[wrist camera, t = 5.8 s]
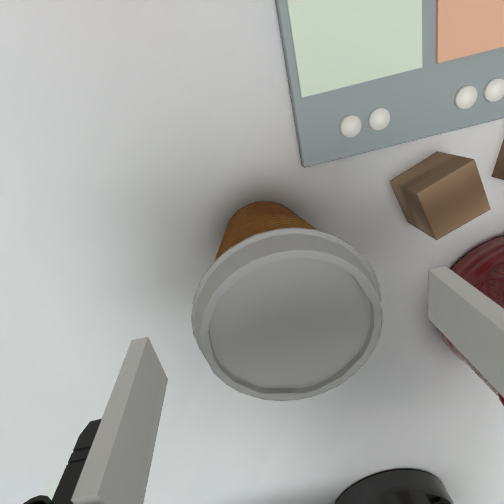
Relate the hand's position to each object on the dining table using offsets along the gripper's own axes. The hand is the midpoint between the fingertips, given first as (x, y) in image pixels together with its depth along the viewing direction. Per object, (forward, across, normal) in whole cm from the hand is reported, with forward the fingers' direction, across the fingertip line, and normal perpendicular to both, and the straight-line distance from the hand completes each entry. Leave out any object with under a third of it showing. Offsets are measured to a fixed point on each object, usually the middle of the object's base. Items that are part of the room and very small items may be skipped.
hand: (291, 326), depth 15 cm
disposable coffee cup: (+12, 0, +1) cm, 12 cm away
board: (+12, -13, -11) cm, 21 cm away
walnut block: (+12, -13, 0) cm, 18 cm away
